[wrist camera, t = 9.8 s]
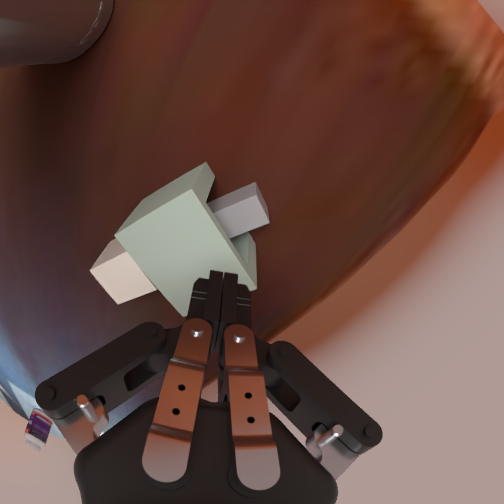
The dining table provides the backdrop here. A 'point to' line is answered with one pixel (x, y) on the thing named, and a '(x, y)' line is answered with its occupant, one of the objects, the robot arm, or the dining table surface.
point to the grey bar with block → (136, 281)
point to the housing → (185, 239)
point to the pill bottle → (37, 429)
